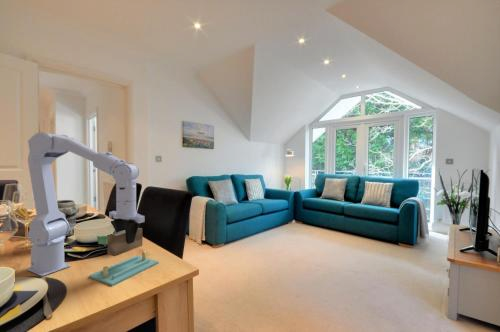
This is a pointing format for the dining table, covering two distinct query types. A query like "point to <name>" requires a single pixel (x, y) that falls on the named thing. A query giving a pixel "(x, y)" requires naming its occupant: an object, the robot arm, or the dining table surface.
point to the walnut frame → (122, 242)
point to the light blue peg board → (124, 269)
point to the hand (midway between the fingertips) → (126, 241)
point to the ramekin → (103, 239)
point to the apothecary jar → (68, 216)
